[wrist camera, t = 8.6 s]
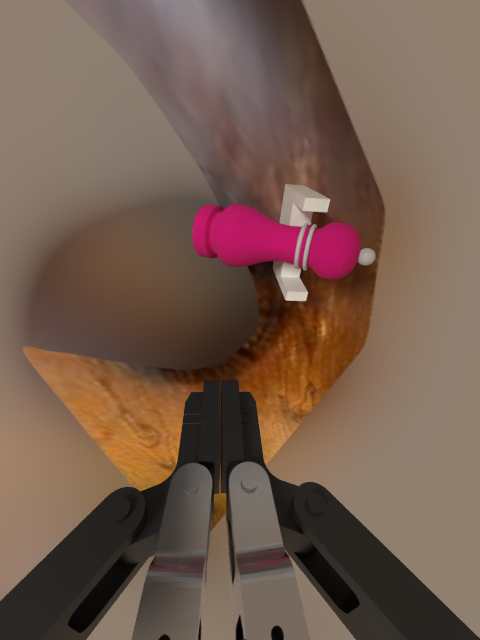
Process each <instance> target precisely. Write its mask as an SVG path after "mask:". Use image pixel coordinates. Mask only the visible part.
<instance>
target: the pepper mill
mask: <svg viewBox="0 0 480 640" xmlns="http://www.w3.org/2000/svg"><path fill="white" fill-rule="evenodd" d="M193 244H194V247H195V250H196V252H197V253H198V254H199V255H200V256H203V257H208V258H216V257H219V258H220V259H221V260H222V262H224V263H225V264H227V265H229V266H236V267H241V266H249V265H253V264H257V263H261V262H267V261H279V262H286V263H290V264H293V265H294V266H295V268H296V269H299V268H300V269H303V270H305V271H306V270H307V269H308V268H311V269H312V270H313V271H314V272H315V273H316V274H317V275H318V276H319V277H321V278H324V279H330V280H335V279H340V278H343V277H344V276H346V275H348V274H349V273H350V272H351V271H352V269H353V268H354V267H355V265H356V263H357V261H358V263H360V264H361V265H369V264H371V263H372V262H373V261H374V260H375V252H374V251H373V250H372V249H370V248H364V249H362V250H360V249H361V241H360V236H359V234H358V232H357V231H356V230H355V229H354V228H353V227H352V226H350V225H348V224H345V223H341V222H333V223H330V224H327V225H326V226H324V227H322V228H319V229H317V225H316V224H314V225H309V224H308V223H305V224H304V225H303V226H302V227H301V226H289V225H285V224H281V223H278V222H276V221H273V220H271V219H270V218H268V217H266V216H265V215H263V214H262V213H260V212H259V211H257V210H256V209H254V208H251V207H249V206H246V205H241V204H233V205H230V206H228V207H227V208H226V209H225V210H223V208H222V207H220V206H214V205H204V206H202V207H201V208H200V209H199V211H198V213H197V215H196V217H195V220H194V224H193Z"/></svg>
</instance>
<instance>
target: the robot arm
mask: <svg viewBox="0 0 480 640" xmlns="http://www.w3.org/2000/svg"><path fill="white" fill-rule="evenodd" d="M220 461H221V493H226V525H227V538H228V551H229V564H230V576H231V598H232V617H233V630H234V640H310V639H309V634H308V630H307V626H306V621H305V617H304V612H303V608H302V603H301V599H300V595H299V590H298V586H297V581H296V577H295V573H294V570H293V566H292V563H291V560H290V558H289V556H288V554H289V555H290V556H291V558H292V559H293V560H294V561H295V563H296V564H297V565H298V567H299V568H300V569H301V570H302V572H303V573H304V574H305V575H306V576H307V578H308V579H309V581H310V582H311V583H312V584H313V586H314V587H315V588H316V589H317V591H318V592H319V593H320V594H321V596H322V597H323V598H324V600H325V601H326V602H327V603H328V605H329V606H330V607H331V608H332V610H333V611H334V612H335V613H336V615H337V616H338V617H339V619H340V620H341V621H342V622H343V624H344V625H345V626H346V628H347V629H348V630H349V631H350V633H351V634H352V635H353V636H354V638H355V639H356V640H480V638H479V637H477V636H476V635H475V634H474V633H473V632H472V631H471V630H470V629H469V628H468V627H467V626H466V625H465V624H464V623H463V622H462V621H461V620H460V619H459V618H458V617H457V616H456V615H455V614H454V613H453V612H452V611H451V610H450V609H449V608H448V607H447V606H446V605H445V604H444V603H443V602H442V601H441V600H439V599H438V597H437V596H435V595H434V594H433V593H432V592H431V591H430V590H429V589H428V588H427V587H426V586H425V585H424V584H423V583H422V582H421V581H420V580H419V579H418V578H417V577H416V576H415V575H414V574H413V573H412V572H411V571H410V570H409V569H408V568H407V567H406V566H405V565H404V564H403V563H402V562H401V561H400V560H399V559H398V558H397V557H396V556H395V555H393V554H392V553H391V552H390V551H389V550H388V549H387V548H386V547H385V546H384V545H383V544H382V543H381V542H380V541H379V540H378V539H377V538H376V537H375V536H374V535H373V534H372V533H371V532H370V531H369V530H368V529H367V528H366V527H365V526H364V525H363V524H362V523H361V522H360V521H358V519H356V518H355V516H353V515H352V514H351V513H350V512H349V511H348V510H347V509H346V508H345V507H344V506H343V505H342V504H341V503H340V502H339V501H338V500H337V499H336V498H335V497H334V496H333V495H332V494H331V493H330V492H329V491H328V490H327V489H326V488H324V487H323V486H321V485H320V484H317V483H314V482H306V483H303V484H301V485H300V486H296V485H293V484H290V483H287V482H285V481H282V480H279V479H278V478H276V477H275V476H273V475H272V474H271V473H270V472H269V470H268V469H267V467H266V465H265V463H264V459H263V452H262V445H261V437H260V430H259V424H258V415H257V408H256V401H255V400H254V398H253V396H252V395H251V393H250V392H239V385H238V380H222V385H221V443H220V380H204V389H203V392H191V394H190V396H189V397H188V399H187V400H186V402H185V409H184V417H183V425H182V432H181V440H180V447H179V455H178V461H177V465H176V468H175V470H174V471H173V473H172V474H171V475H170V477H169V478H168V479H166V480H165V481H164V482H162V483H160V484H158V485H156V486H153V487H151V488H148V489H146V490H143V491H139V490H138V489H136V488H133V487H124V488H120V489H118V490H116V491H114V492H112V493H111V494H110V495H109V496H107V497H106V498H105V499H104V500H103V501H102V502H101V503H100V504H99V505H98V506H97V507H96V508H95V509H94V510H93V511H92V512H91V513H90V514H89V515H88V516H87V517H86V518H85V519H84V520H83V521H82V522H81V523H80V524H79V525H78V526H77V527H76V528H75V529H74V530H73V531H72V532H71V533H70V534H69V535H68V536H66V537H65V538H64V539H63V540H62V542H60V544H58V545H57V546H56V547H55V548H54V549H53V550H52V551H51V552H50V553H49V554H48V555H47V556H46V557H45V558H44V559H43V560H42V561H41V562H40V563H39V564H38V565H37V566H36V567H35V568H34V569H33V570H32V571H31V572H30V573H29V574H28V575H27V576H26V577H25V578H24V579H22V580H21V581H20V582H19V584H17V585H16V586H15V587H14V588H13V589H12V590H11V591H10V592H9V593H8V594H7V595H6V596H5V597H4V598H3V599H2V600H1V601H0V640H86V639H87V638H88V636H89V635H90V634H91V632H92V631H93V630H94V629H95V627H96V626H97V625H98V623H99V622H100V621H101V619H102V618H103V617H104V615H105V614H106V613H107V611H108V610H109V609H110V608H111V606H112V605H113V604H114V602H115V601H116V600H117V598H118V597H119V596H120V594H121V593H122V592H123V591H124V589H125V588H126V587H127V585H128V584H129V582H130V581H131V580H132V579H133V577H134V576H135V575H136V574H137V572H138V571H139V569H140V568H141V567H142V566H143V564H144V563H145V562H146V560H147V559H148V558H149V557H151V556H153V555H155V556H154V559H153V561H152V562H151V564H150V566H149V569H148V572H147V575H146V579H145V583H144V587H143V592H142V596H141V601H140V605H139V609H138V614H137V618H136V623H135V627H134V632H133V637H132V640H202V629H203V617H204V605H205V590H206V577H207V565H208V553H209V543H210V531H211V521H212V518H213V512H214V494H217V493H219V481H220ZM284 548H285V549H284ZM285 550H286V551H287V553H288V554H287V553H286V552H285Z"/></svg>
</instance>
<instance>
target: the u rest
mask: <svg viewBox="0 0 480 640" xmlns="http://www.w3.org/2000/svg"><path fill="white" fill-rule="evenodd" d="M329 203H330V199H329V198H327V197H325V196H323V195H321V194H319V193H318V192H316V191H314V190H312V189H310V188H308V187H307V186H305V185H292V184H285V189H284V196H283V202H282V209H281V216H280V223H281V224H285V225H289V226H301V227H302V226H303V225H304V224H305V223H308V224H309V225H311V220H312V215H313V212H327V211H328V207H329ZM273 270H274V273H275V275H276V278H277V280H278V283H279V285H280V288H281V290H282V293H283V295H284V297H285V300H289V301H306V299H307V294H308V291H307V290H306V288H305V286H304V284H303V283H302V281H301V279H300V272H301V269H300V268H299V269H296V268H295V266H294V265H293V264H290V263H286V262H279V261H274V263H273Z"/></svg>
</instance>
